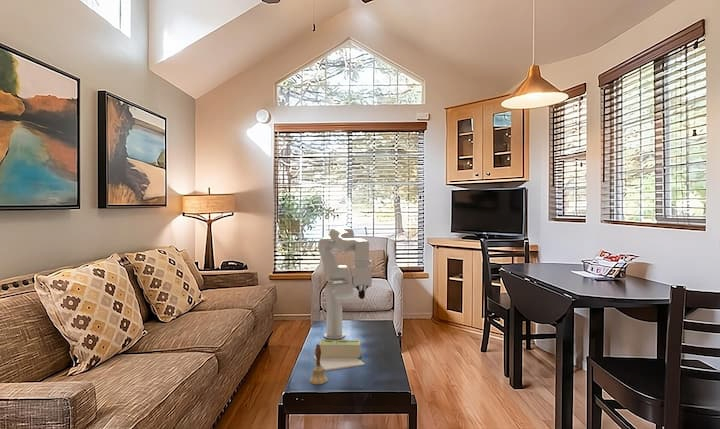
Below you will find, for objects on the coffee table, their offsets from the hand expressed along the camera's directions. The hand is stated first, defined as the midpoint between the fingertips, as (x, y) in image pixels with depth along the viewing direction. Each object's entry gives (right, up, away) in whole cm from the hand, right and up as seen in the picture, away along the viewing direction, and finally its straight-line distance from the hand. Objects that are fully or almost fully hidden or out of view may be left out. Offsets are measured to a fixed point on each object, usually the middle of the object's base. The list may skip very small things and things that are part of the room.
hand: (361, 298), depth 225 cm
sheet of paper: (-12, -29, -11) cm, 33 cm away
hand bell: (-19, -30, -35) cm, 50 cm away
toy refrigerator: (0, -25, -4) cm, 25 cm away
